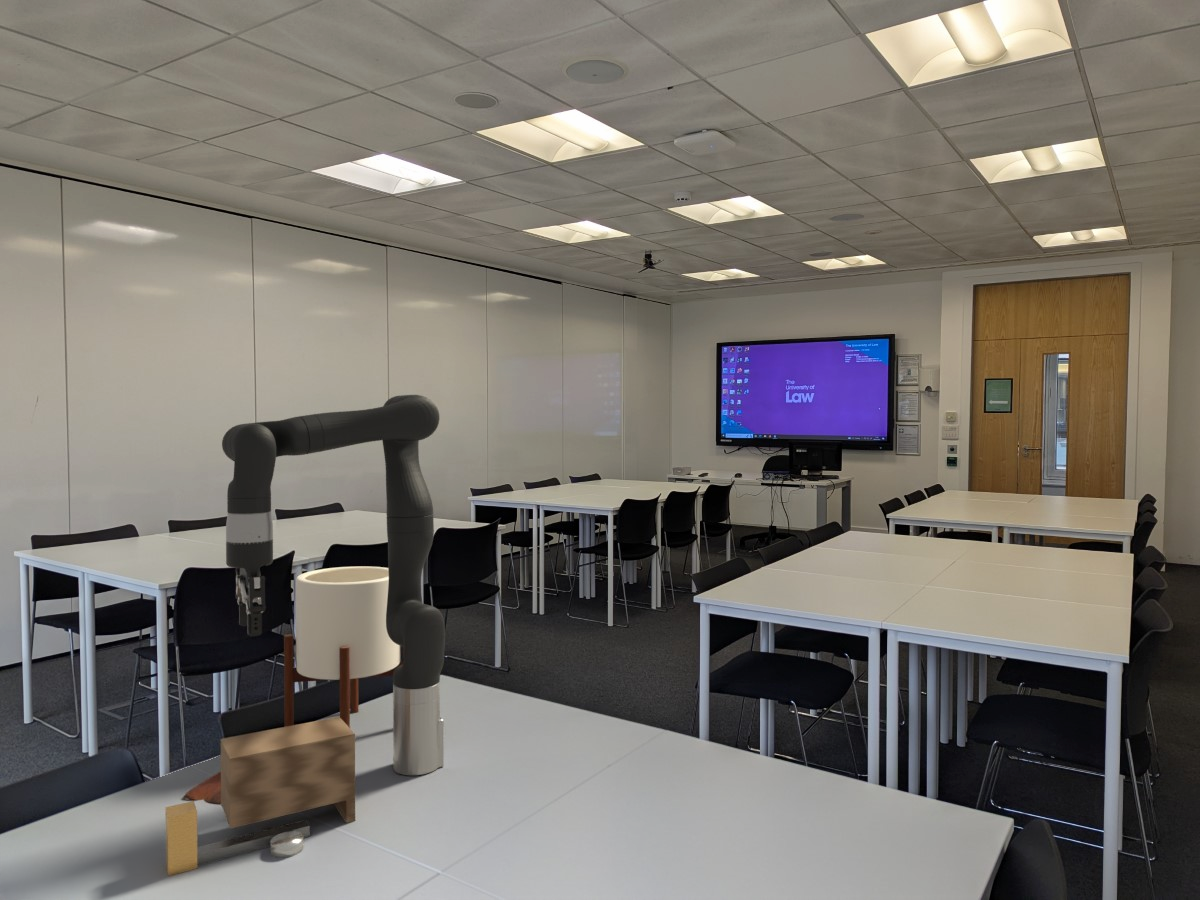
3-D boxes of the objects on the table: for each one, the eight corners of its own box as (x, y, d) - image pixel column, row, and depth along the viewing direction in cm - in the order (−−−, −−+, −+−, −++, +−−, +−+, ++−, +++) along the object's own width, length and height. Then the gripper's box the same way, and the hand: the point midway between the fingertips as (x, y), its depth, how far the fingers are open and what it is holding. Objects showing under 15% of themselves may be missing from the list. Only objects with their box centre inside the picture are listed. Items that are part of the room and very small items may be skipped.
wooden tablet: (227, 808, 146) (227, 799, 146) (179, 803, 148) (179, 794, 147) (308, 751, 172) (308, 743, 172) (266, 747, 174) (266, 739, 174)
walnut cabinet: (339, 798, 148) (339, 716, 148) (355, 820, 140) (354, 733, 139) (221, 827, 137) (220, 738, 137) (230, 853, 129) (229, 758, 129)
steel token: (301, 840, 133) (300, 828, 133) (306, 854, 129) (305, 841, 129) (268, 847, 131) (268, 835, 131) (272, 862, 127) (272, 849, 127)
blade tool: (304, 828, 137) (304, 776, 137) (310, 838, 134) (310, 784, 134) (165, 864, 126) (165, 807, 125) (168, 875, 122) (167, 817, 122)
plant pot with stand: (421, 725, 185) (420, 571, 185) (343, 758, 166) (342, 587, 166) (354, 707, 197) (354, 563, 196) (275, 736, 178) (274, 576, 177)
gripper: (280, 541, 136) (281, 636, 136) (264, 532, 148) (265, 619, 148) (232, 544, 132) (233, 642, 132) (220, 535, 144) (220, 625, 144)
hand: (250, 630), depth 140 cm, fingers open, 8 cm apart
